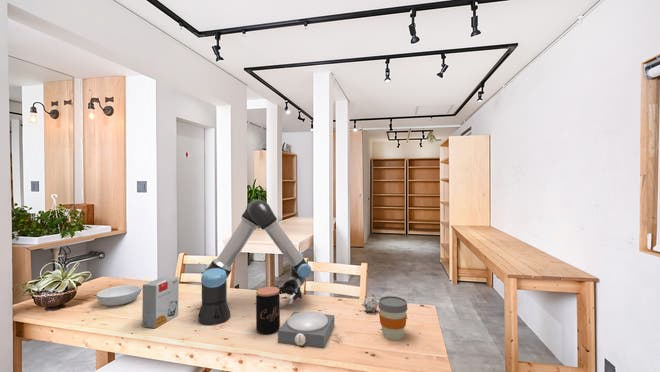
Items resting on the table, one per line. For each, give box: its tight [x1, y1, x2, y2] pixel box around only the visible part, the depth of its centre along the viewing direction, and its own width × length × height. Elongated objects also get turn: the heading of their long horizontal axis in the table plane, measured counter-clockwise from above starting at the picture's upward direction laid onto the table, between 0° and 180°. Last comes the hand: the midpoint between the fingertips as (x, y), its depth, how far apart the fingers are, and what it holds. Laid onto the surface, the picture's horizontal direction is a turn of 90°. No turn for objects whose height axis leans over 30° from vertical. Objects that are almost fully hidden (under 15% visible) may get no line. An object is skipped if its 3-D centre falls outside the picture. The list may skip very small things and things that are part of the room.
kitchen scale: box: [277, 311, 335, 349], centre depth 137 cm, size 20×21×6 cm
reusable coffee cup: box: [377, 295, 408, 341], centre depth 136 cm, size 13×13×15 cm
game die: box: [361, 294, 379, 314], centre depth 161 cm, size 9×8×10 cm
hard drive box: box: [141, 275, 180, 329], centre depth 151 cm, size 16×8×20 cm, turn 166°
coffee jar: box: [255, 286, 281, 335], centre depth 142 cm, size 11×11×18 cm
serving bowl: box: [96, 284, 142, 306], centre depth 175 cm, size 21×21×7 cm
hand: (276, 299), depth 151 cm, fingers open, 13 cm apart
